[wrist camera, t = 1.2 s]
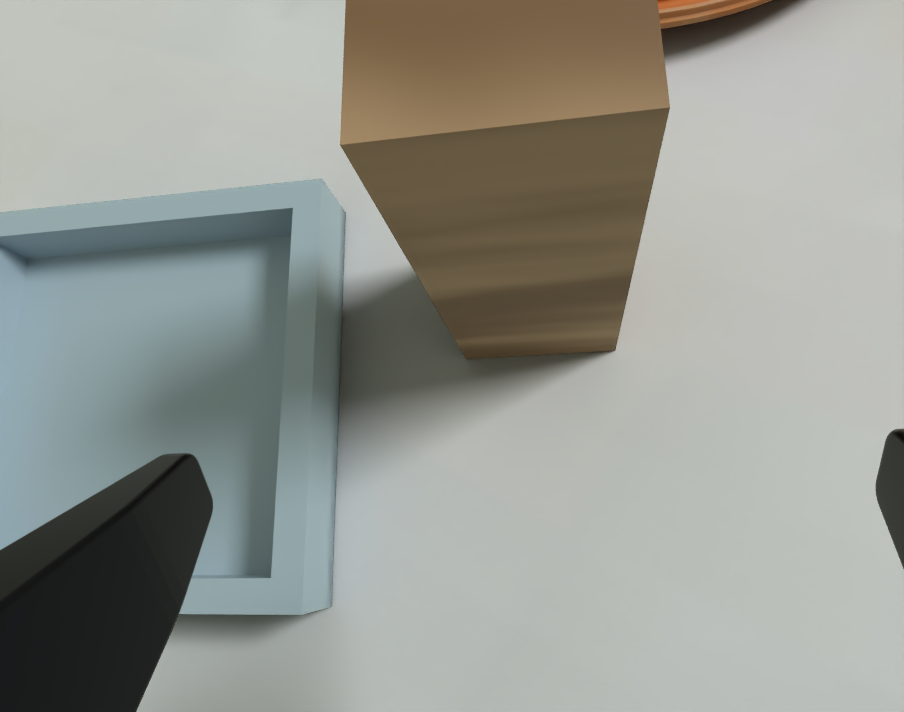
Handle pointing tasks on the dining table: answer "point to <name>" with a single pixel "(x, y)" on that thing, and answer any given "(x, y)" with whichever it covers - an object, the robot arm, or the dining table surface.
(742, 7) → the ring
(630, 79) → the walnut block
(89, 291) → the tray
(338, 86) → the dining table surface
